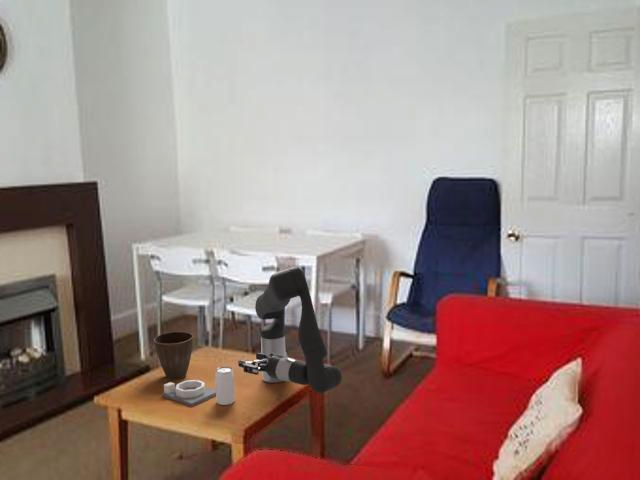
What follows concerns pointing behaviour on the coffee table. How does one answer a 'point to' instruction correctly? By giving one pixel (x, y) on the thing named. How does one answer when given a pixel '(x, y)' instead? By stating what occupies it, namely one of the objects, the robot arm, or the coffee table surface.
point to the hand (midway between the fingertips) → (248, 359)
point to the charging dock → (194, 399)
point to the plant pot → (174, 353)
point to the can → (224, 386)
